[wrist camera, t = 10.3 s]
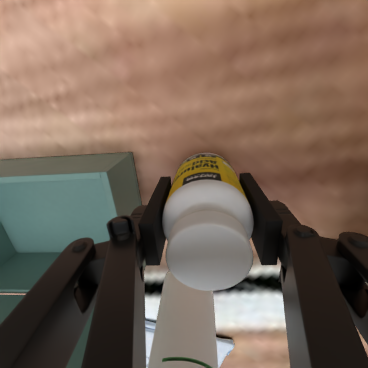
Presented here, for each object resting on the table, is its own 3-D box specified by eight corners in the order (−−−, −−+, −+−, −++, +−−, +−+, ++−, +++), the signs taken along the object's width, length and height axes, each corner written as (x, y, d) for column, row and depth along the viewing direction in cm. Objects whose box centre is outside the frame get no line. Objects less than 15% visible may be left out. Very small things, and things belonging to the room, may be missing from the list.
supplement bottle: (216, 138, 16) (238, 187, 7) (245, 190, 18) (291, 281, 9) (163, 170, 18) (127, 242, 9) (194, 214, 19) (190, 314, 10)
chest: (-29, 161, 24) (-107, 182, 18) (132, 151, 22) (106, 171, 16) (18, 252, 29) (-29, 292, 23) (150, 251, 27) (136, 295, 21)
